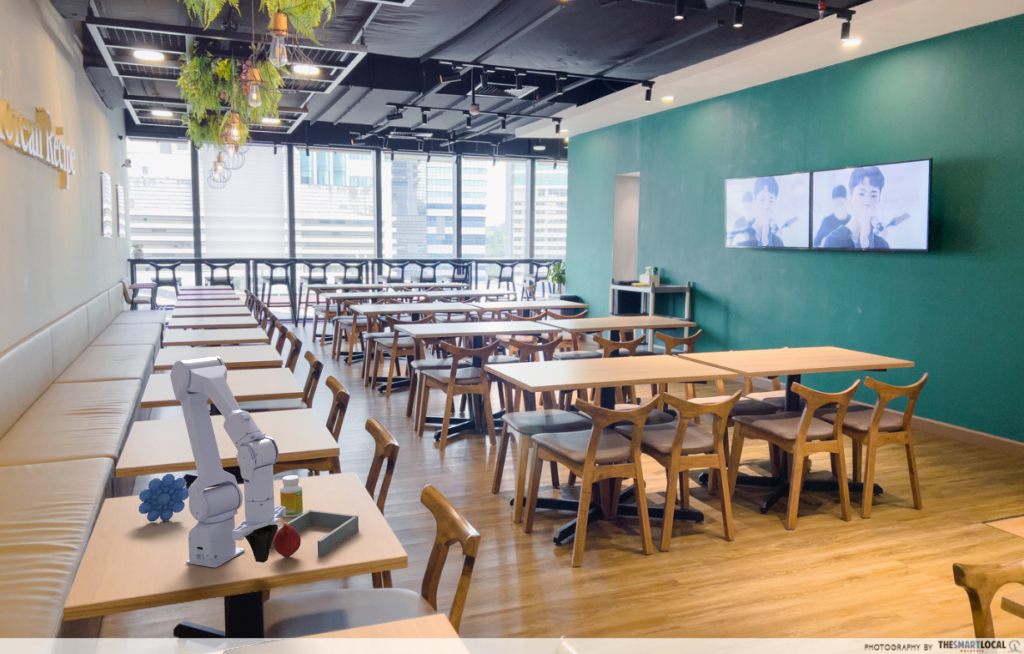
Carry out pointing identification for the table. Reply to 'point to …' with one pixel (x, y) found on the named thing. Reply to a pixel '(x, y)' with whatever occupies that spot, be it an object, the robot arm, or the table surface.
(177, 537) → the table surface
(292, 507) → the supplement bottle
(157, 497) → the blue flower
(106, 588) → the table surface
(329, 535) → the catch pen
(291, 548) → the onion
